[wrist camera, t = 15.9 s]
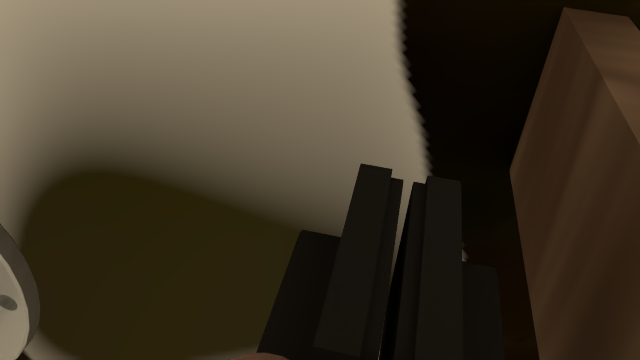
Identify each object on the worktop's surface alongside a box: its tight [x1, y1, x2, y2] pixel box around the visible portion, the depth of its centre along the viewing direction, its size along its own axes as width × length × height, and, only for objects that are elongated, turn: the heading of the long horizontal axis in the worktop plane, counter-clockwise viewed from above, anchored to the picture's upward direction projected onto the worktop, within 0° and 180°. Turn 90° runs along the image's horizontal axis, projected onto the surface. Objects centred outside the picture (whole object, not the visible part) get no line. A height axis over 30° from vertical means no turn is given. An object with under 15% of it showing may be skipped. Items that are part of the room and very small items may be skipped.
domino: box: [510, 7, 640, 360], centre depth 12 cm, size 2×5×10 cm, turn 174°
